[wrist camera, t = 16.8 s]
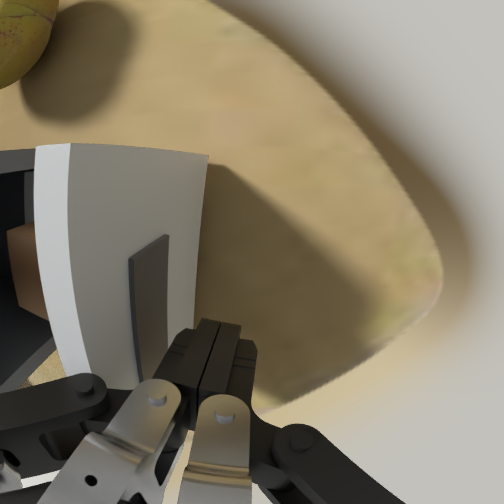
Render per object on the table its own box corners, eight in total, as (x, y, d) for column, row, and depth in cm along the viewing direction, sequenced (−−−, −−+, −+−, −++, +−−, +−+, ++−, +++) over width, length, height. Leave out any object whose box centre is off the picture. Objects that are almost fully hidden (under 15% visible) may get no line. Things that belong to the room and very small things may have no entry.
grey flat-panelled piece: (195, 350, 19) (139, 481, 8) (46, 302, 20) (-34, 367, 9) (212, 155, 15) (77, 142, 4) (36, 152, 16) (-78, 170, 5)
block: (112, 293, 17) (70, 330, 12) (62, 277, 17) (19, 306, 12) (109, 221, 15) (56, 244, 11) (57, 213, 15) (6, 231, 11)
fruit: (90, 45, 13) (1, 9, 4) (8, 121, 15) (-69, 125, 6) (83, -22, 11) (24, -57, 1) (8, 47, 13) (-52, 37, 3)
